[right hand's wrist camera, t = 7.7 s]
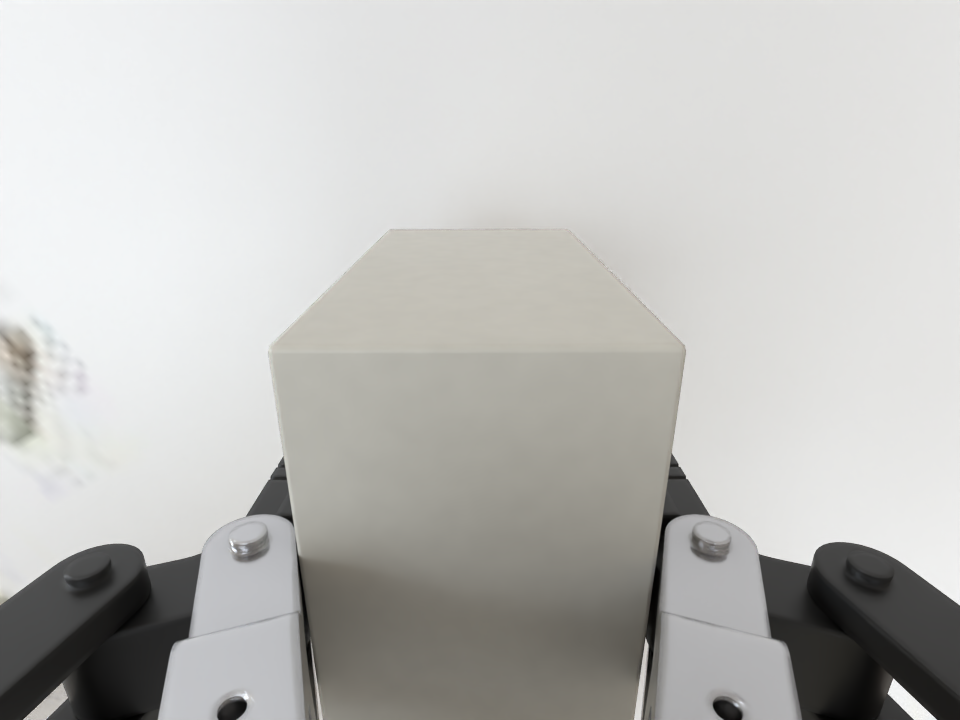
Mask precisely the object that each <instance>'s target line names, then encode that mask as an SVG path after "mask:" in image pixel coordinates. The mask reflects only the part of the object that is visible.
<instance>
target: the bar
mask: <svg viewBox="0 0 960 720" xmlns="http://www.w3.org/2000/svg"><path fill="white" fill-rule="evenodd" d="M268 355H269V361H270V368H271V375H272V381H273V388H274V395H275V401H276V408H277V415H278V422H279V428H280V435H281V442H282V448H283V455H284V462H285V468H286V475H287V482H288V489H289V495H290V502H291V509H292V515H293V522H294V529H295V535H296V542H297V549H298V556H299V562H300V569H301V576H302V582H303V589H304V596H305V602H306V609H307V616H308V622H309V629H310V636H311V643H312V649H313V656H314V663H315V669H316V676H317V683H318V689H319V696H320V703H321V710H322V716H323V720H634V714H635V707H636V700H637V693H638V686H639V679H640V672H641V665H642V658H643V651H644V644H645V637H646V630H647V623H648V616H649V609H650V601H651V594H652V587H653V580H654V573H655V566H656V559H657V552H658V545H659V538H660V531H661V524H662V517H663V510H664V503H665V496H666V489H667V482H668V474H669V467H670V460H671V453H672V446H673V439H674V432H675V425H676V418H677V411H678V404H679V397H680V390H681V383H682V376H683V369H684V362H685V355H686V349H685V346H684V344H683V343H682V342H681V341H680V340H679V339H678V338H677V337H676V336H675V335H674V334H673V333H672V332H671V331H670V330H669V329H668V328H667V327H666V326H665V325H664V324H663V323H662V322H661V321H660V320H659V319H658V318H657V317H656V316H655V315H654V314H653V313H652V312H651V311H650V310H649V309H648V308H647V307H646V306H645V305H644V304H643V303H642V302H641V301H640V300H639V299H638V298H637V297H636V296H635V295H634V294H633V293H632V292H631V291H630V290H629V289H628V288H627V287H626V286H625V285H623V284H622V283H621V282H620V281H619V280H618V279H617V278H616V277H615V276H614V275H613V274H612V273H611V272H610V271H609V270H608V269H607V268H606V267H605V266H604V265H603V264H602V263H601V262H600V261H599V260H598V259H597V258H596V257H595V256H594V255H593V254H592V253H591V252H590V251H589V250H588V249H587V248H586V247H585V246H584V245H583V244H582V243H581V242H580V241H579V240H578V239H577V238H576V237H575V236H574V235H573V234H572V233H571V232H570V231H569V230H567V229H391V230H389V231H388V232H387V233H386V234H385V235H383V236H382V237H381V238H380V239H379V240H378V241H377V242H376V243H375V244H374V245H373V246H372V247H371V248H370V249H369V250H368V251H367V252H366V253H365V254H364V255H363V256H362V257H361V258H360V259H359V260H358V261H357V262H356V263H355V264H354V265H353V266H351V267H350V268H349V269H348V270H347V271H346V272H345V273H344V274H343V275H342V276H341V277H340V278H339V279H338V280H337V281H336V282H335V283H334V284H333V285H332V286H331V287H330V288H329V289H328V290H327V291H326V292H325V293H324V294H323V295H322V296H320V297H319V298H318V299H317V300H316V301H315V302H314V303H313V304H312V305H311V306H310V307H309V308H308V309H307V310H306V311H305V312H304V313H303V314H302V315H301V316H300V317H299V318H298V319H297V320H296V321H295V322H294V323H293V324H292V325H291V326H289V327H288V328H287V329H286V330H285V331H284V332H283V333H282V334H281V335H280V336H279V337H278V338H277V339H276V340H275V341H274V342H273V343H272V344H271V345H270V346H269V349H268Z"/></svg>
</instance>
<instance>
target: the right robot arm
mask: <svg viewBox="0 0 960 720" xmlns="http://www.w3.org/2000/svg"><path fill="white" fill-rule="evenodd" d="M646 639H647V642H648V651H647V659H646V669H645V680H644V691H643V702H642V713H641V720H913V719H912V718H911V717H910V716H909V715H908V714H907V713H906V712H905V711H904V710H903V709H902V708H901V707H900V706H899V705H898V704H897V703H896V702H895V701H894V700H893V699H892V698H891V697H890V696H889V695H888V694H887V693H888V691H889V688H890V685H891V683H892V680H893V678H894V679H895V680H896V681H897V682H898V683H899V684H900V685H901V686H902V687H903V688H904V689H905V690H906V691H907V692H909V693H910V694H911V695H912V696H913V697H914V698H915V699H916V700H917V701H918V702H919V703H920V704H921V705H922V706H923V707H924V708H925V709H926V710H927V711H929V712H930V713H931V714H932V715H933V716H934V717H935V718H936V719H937V720H960V605H958V604H957V603H956V602H954V601H953V600H951V599H950V598H949V597H947V596H946V595H945V594H943V593H942V592H941V591H939V590H938V589H936V588H935V587H934V586H932V585H931V584H930V583H928V582H927V581H926V580H924V579H923V578H922V577H920V576H919V575H917V574H916V573H915V572H913V571H912V570H911V569H909V568H908V567H907V566H905V565H904V564H902V563H901V562H899V561H898V560H896V559H894V558H892V557H891V556H889V555H887V554H885V553H882V552H880V551H878V550H875V549H872V548H870V547H866V546H863V545H859V544H854V543H846V542H834V543H828V544H825V545H823V546H821V547H819V548H818V549H817V550H816V552H815V554H814V558H813V562H812V565H811V566H808V565H803V564H798V563H794V562H789V561H784V560H780V559H775V558H771V557H767V556H763V555H760V554H758V550H757V546H756V544H755V543H754V541H753V540H752V539H751V537H750V536H749V535H748V534H747V533H745V532H744V531H743V530H742V529H740V528H739V527H737V526H735V525H734V524H732V523H730V522H727V521H725V520H722V519H719V518H716V517H712V516H710V515H709V513H708V511H707V510H706V508H705V507H704V505H703V503H702V502H701V500H700V498H699V497H698V495H697V494H696V492H695V490H694V489H693V487H692V485H691V484H690V482H689V481H688V479H686V476H685V474H684V472H683V471H682V469H681V468H680V467H679V466H678V463H677V461H676V459H675V458H674V456H673V455H672V453H671V460H670V467H669V474H668V482H667V489H666V496H665V503H664V510H663V517H662V524H661V531H660V538H659V545H658V552H657V559H656V566H655V573H654V580H653V587H652V594H651V601H650V609H649V616H648V623H647V630H646ZM61 683H63V685H64V688H65V691H66V693H67V696H68V699H67V700H66V701H65V702H64V703H63V704H62V705H61V706H60V707H59V708H58V709H57V710H56V711H55V712H54V713H53V714H52V715H51V716H50V717H49V718H48V719H47V720H319V713H318V702H317V691H316V680H315V669H314V659H313V651H312V644H311V636H310V629H309V622H308V616H307V609H306V602H305V596H304V589H303V582H302V576H301V569H300V562H299V556H298V549H297V542H296V535H295V529H294V522H293V515H292V509H291V502H290V495H289V489H288V482H287V475H286V468H285V462H284V456H283V458H282V459H281V461H280V463H279V464H278V468H276V469H275V471H274V472H273V474H272V475H271V480H268V482H267V484H266V485H265V487H264V488H263V490H262V492H261V493H260V495H259V496H258V498H257V500H256V501H255V503H254V504H253V506H252V508H251V509H250V511H249V512H248V514H247V516H246V517H244V518H241V519H238V520H235V521H233V522H230V523H228V524H226V525H225V526H223V527H221V528H220V529H218V530H217V531H216V532H215V533H213V534H212V535H211V536H210V537H209V539H208V540H207V541H206V543H205V544H204V546H203V550H202V553H201V554H198V555H195V556H192V557H188V558H185V559H180V560H175V561H171V562H166V563H162V564H157V565H152V566H148V567H146V563H145V559H144V556H143V554H142V552H141V551H140V550H139V549H138V548H136V547H134V546H131V545H127V544H108V545H102V546H97V547H94V548H90V549H87V550H84V551H82V552H79V553H77V554H75V555H72V556H70V557H68V558H66V559H65V560H63V561H61V562H59V563H58V564H56V565H55V566H54V567H52V568H51V569H49V570H48V571H47V572H45V573H44V574H43V575H41V576H40V577H38V578H37V579H36V580H34V581H33V582H32V583H30V584H29V585H28V586H26V587H25V588H23V589H22V590H21V591H19V592H18V593H17V594H15V595H14V596H13V597H11V598H10V599H9V600H7V601H6V602H4V603H3V604H2V605H0V720H23V719H24V718H25V717H26V716H27V715H28V714H29V713H30V712H31V711H32V710H34V709H35V708H36V707H37V706H38V705H39V704H40V703H41V702H42V701H43V700H44V699H45V698H46V697H47V696H48V695H49V694H50V693H51V692H53V691H54V690H55V689H56V688H57V687H58V686H59V685H60V684H61Z"/></svg>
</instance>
